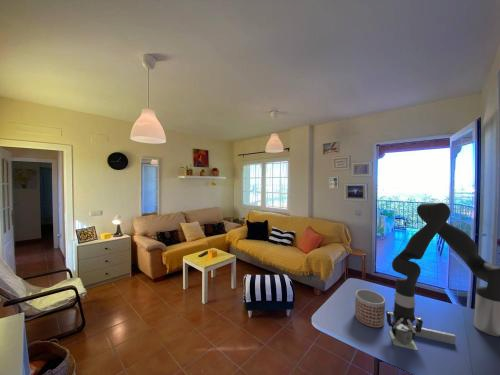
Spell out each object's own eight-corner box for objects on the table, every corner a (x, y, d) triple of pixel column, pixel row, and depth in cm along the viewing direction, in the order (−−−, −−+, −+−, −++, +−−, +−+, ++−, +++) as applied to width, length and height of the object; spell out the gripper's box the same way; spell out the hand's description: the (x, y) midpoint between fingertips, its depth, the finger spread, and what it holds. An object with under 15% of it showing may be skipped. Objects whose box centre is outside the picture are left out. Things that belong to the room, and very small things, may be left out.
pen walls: (443, 328, 105) (443, 321, 105) (455, 344, 95) (455, 336, 95) (402, 320, 111) (402, 313, 111) (409, 334, 101) (410, 326, 101)
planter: (389, 330, 104) (390, 305, 103) (359, 326, 107) (360, 302, 106) (378, 312, 117) (378, 290, 117) (351, 309, 120) (352, 287, 119)
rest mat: (410, 335, 100) (410, 335, 100) (418, 350, 92) (418, 350, 92) (388, 330, 103) (388, 330, 103) (394, 344, 95) (394, 344, 95)
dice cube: (412, 341, 95) (412, 331, 95) (403, 344, 94) (404, 333, 94) (401, 333, 100) (401, 323, 100) (393, 336, 99) (393, 326, 98)
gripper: (420, 300, 97) (418, 335, 98) (384, 294, 102) (383, 327, 103) (427, 310, 90) (425, 347, 91) (388, 303, 95) (387, 338, 96)
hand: (402, 336), depth 97 cm, fingers closed on dice cube, 6 cm apart
